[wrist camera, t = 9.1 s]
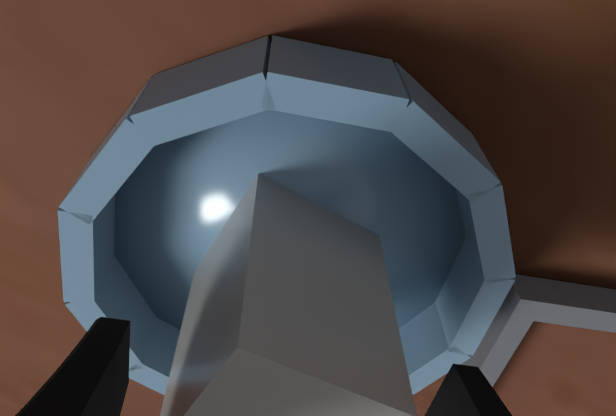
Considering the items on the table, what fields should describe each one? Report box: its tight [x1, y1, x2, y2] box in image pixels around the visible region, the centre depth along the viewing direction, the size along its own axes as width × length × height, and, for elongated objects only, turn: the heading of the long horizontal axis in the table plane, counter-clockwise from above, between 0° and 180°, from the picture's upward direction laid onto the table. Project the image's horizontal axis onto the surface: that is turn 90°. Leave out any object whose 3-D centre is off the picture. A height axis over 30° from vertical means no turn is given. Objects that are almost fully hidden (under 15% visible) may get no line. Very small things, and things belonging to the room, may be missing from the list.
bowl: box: [58, 35, 516, 395], centre depth 15 cm, size 12×12×2 cm
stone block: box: [160, 174, 417, 416], centre depth 13 cm, size 4×4×6 cm
